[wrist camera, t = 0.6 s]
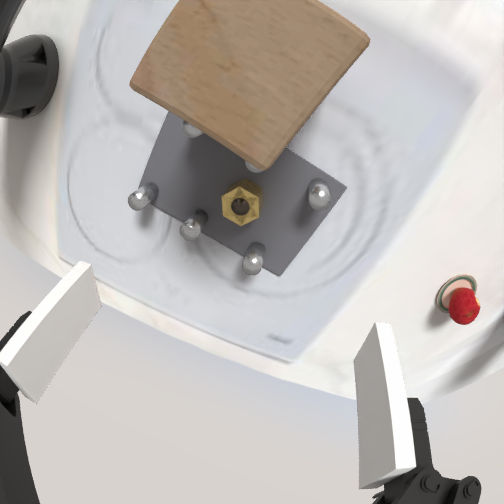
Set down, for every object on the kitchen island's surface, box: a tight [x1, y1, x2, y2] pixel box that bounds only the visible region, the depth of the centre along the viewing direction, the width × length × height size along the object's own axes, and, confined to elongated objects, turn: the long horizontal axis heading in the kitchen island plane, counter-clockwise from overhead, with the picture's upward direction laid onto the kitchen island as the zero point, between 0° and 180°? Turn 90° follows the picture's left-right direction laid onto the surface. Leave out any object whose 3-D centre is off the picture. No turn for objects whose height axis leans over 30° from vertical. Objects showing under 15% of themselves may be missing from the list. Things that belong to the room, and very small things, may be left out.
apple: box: [437, 274, 480, 325], centre depth 37 cm, size 8×8×6 cm
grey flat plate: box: [138, 111, 347, 276], centre depth 37 cm, size 24×16×1 cm, turn 61°
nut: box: [222, 178, 263, 226], centre depth 36 cm, size 5×4×4 cm
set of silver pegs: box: [128, 121, 331, 275], centre depth 35 cm, size 21×14×4 cm
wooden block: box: [129, 0, 370, 171], centre depth 21 cm, size 10×10×20 cm
